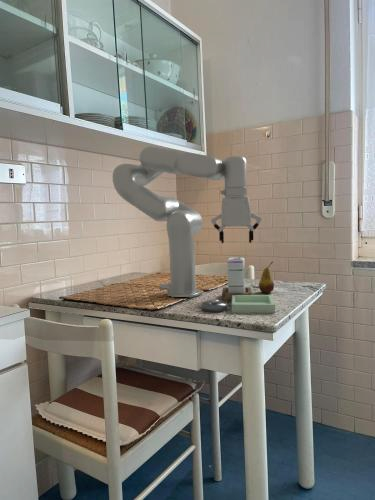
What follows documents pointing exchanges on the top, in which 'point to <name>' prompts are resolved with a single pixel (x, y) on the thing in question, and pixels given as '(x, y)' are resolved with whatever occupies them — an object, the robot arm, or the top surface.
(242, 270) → the syrup box
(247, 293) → the collar
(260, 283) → the fruit
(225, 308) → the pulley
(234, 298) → the tray
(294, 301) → the top surface
